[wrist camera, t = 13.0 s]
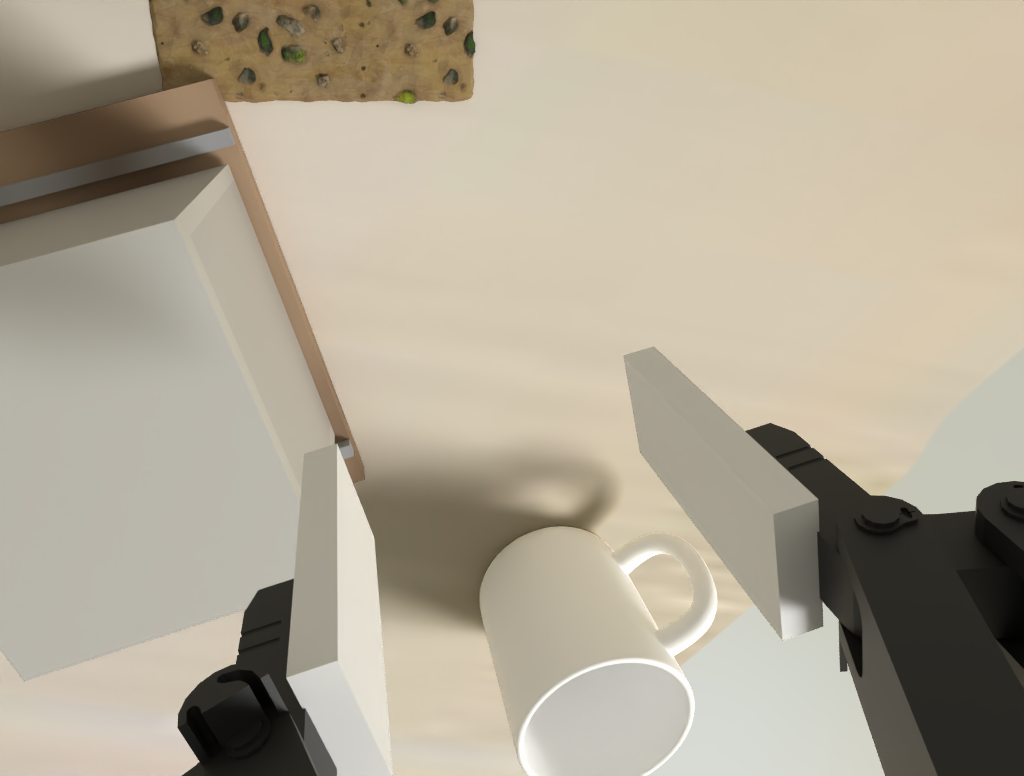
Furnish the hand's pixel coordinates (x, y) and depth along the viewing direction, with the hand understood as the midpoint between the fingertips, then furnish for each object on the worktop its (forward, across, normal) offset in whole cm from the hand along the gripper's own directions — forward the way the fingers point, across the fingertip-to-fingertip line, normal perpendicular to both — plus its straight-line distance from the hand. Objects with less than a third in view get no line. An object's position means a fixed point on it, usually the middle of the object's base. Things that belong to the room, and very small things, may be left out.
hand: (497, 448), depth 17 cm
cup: (+17, +4, -19) cm, 26 cm away
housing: (+16, -11, 0) cm, 19 cm away
